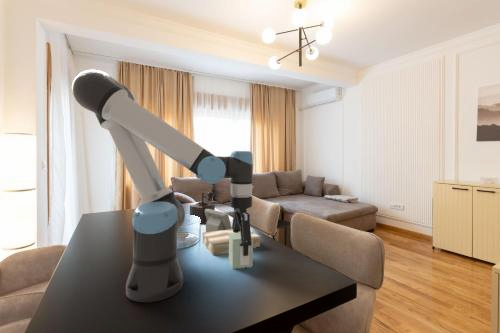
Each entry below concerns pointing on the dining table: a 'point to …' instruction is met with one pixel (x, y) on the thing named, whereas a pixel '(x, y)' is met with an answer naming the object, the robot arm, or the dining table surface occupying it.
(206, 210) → the digital clock
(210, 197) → the dark brown irregular piece
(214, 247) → the birch box
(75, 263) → the dining table surface
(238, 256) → the sage block
